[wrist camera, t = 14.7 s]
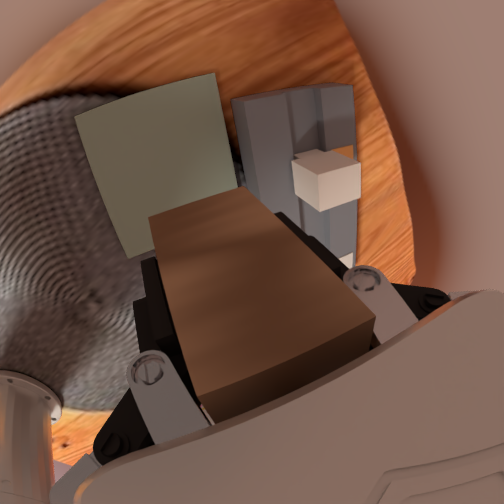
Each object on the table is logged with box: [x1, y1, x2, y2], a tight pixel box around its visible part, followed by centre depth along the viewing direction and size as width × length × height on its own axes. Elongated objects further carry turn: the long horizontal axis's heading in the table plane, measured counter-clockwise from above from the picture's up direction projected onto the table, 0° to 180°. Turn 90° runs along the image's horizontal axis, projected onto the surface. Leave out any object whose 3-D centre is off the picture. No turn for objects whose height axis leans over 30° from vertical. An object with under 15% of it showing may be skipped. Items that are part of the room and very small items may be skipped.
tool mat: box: [74, 73, 238, 259], centre depth 23 cm, size 11×13×1 cm
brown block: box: [148, 186, 376, 424], centre depth 8 cm, size 4×4×12 cm
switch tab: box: [291, 149, 361, 212], centre depth 24 cm, size 4×3×5 cm
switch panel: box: [230, 83, 357, 269], centre depth 30 cm, size 10×24×3 cm, turn 9°
